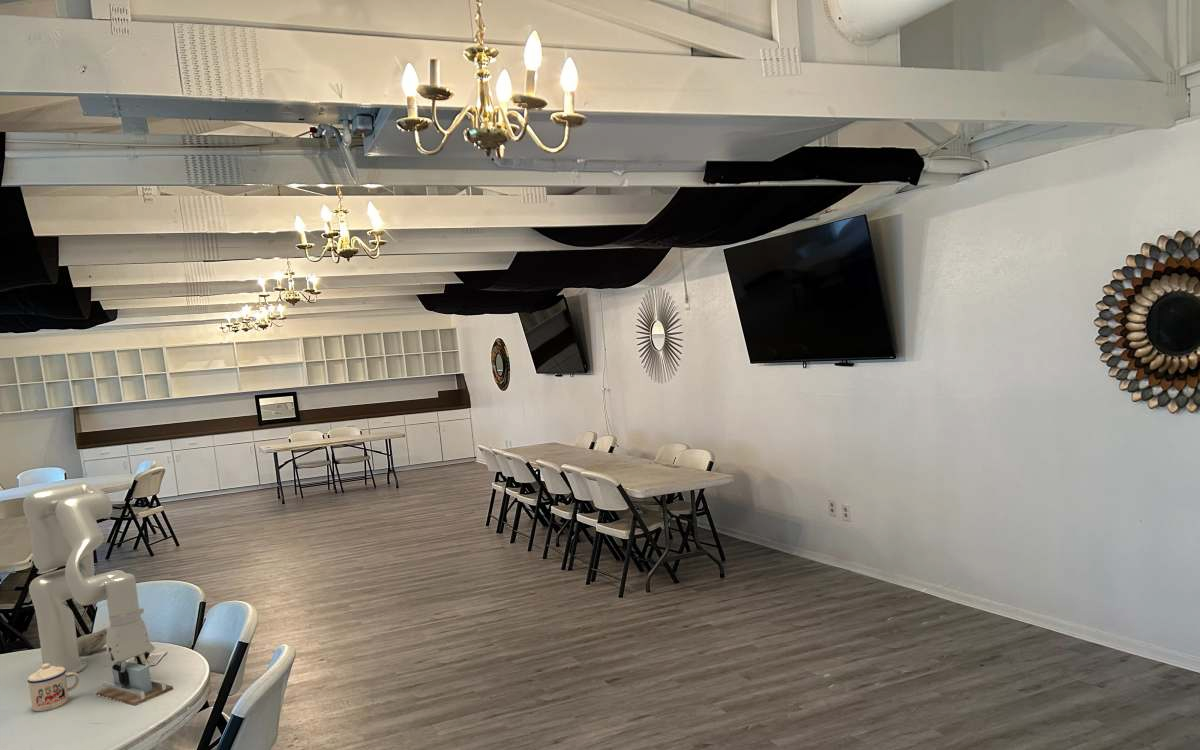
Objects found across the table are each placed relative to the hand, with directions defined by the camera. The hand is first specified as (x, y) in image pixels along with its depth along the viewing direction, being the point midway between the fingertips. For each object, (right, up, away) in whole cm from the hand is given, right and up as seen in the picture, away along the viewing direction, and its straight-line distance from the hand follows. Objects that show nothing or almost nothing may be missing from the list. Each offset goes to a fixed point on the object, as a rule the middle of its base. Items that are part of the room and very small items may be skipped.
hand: (133, 680), depth 237 cm
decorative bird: (-36, -6, +39) cm, 54 cm away
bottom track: (0, -3, 0) cm, 3 cm away
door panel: (0, -3, 0) cm, 2 cm away
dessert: (-11, -4, +25) cm, 28 cm away
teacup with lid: (-20, -6, -2) cm, 21 cm away
